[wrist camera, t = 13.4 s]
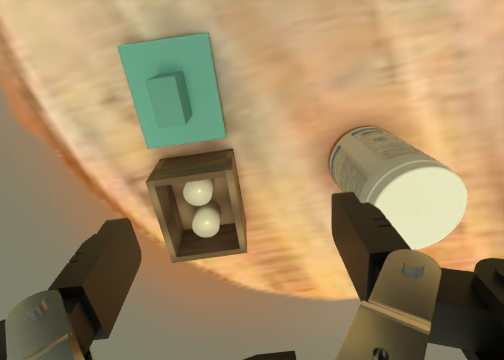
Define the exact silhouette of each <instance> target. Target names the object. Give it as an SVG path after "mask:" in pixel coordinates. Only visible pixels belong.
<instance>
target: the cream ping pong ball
mask: <svg viewBox="0 0 504 360" xmlns="http://www.w3.org/2000/svg"><path fill="white" fill-rule="evenodd" d="M213 186H214V179H207V180H200V181H193V182H186V184H185V187H184V190H183V195H184V198H185V199H186V201H187V202H188V203H190V204H192V205H195V206H202V205H205V204H207V203H208V202H209V201H210V199H211V197H212V192H213Z"/></svg>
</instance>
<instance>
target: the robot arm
mask: <svg viewBox="0 0 504 360" xmlns="http://www.w3.org/2000/svg"><path fill="white" fill-rule="evenodd" d="M332 235H333V239H334V242H335V245H336V247H337V249H338V251H339V253H340V256H341V258H342V260H343V262H344V265H345V267H346V269H347V271H348V274H349V276H350V278H351V280H352V282H353V285H354V287H355V289H356V291H357V294H358V296H359V298H360V300H361V304H360V306H359V308H358V310H357V313H356V315H355V317H354V320H353V322H352V324H351V326H350V328H349V330H348V333H347V335H346V338H345V339H344V342H343V344H342V346H341V348H340V351H339V353H338V355H337V357H336V360H424V357H425V353H426V348H427V343H433V344H438V345H444V346H449V347H454V348H459V349H461V350H462V352H463V353H464V355H465V356H466V358H467V359H468V360H504V259H497V258H488V259H483V260H481V261H479V262H478V263H477V264H476V266H475V269H474V272H470V271H461V270H453V269H446V268H441V267H440V266H439V264H438V263H437V262H436V261H435V260H434V259H433V258H431V257H430V256H428V255H426V254H424V253H422V252H419V251H415V250H412V249H411V248H410V247H409V245H408V244H407V243H406V242H405V240H404V239H403V238H402V237H401V235H400V234H399V233H398V232H397V230H396V229H395V228H394V226H392V224H391V223H390V221H389V220H388V219H386V216H385V215H384V214H383V213H382V211H381V210H380V209H379V208H377V207H376V206H374V205H372V204H370V203H369V202H367V203H361V202H360V201H359V199H358V198H357V196H356V195H355V194H354V192H352V191H351V192H343V193H334V194H332ZM140 263H141V249H140V246H139V244H138V241H137V238H136V235H135V232H134V230H133V227H132V224H131V222H130V220H129V219H128V218H121V219H112V220H107V221H106V222H105V223H104V224H103V226H102V227H101V228H100V230H99V231H98V233H97V234H94V235H93V236H91V237H90V238H89V239H88V240H86V241H85V242H84V243H82V245H81V246H80V248H79V249H78V250H77V252H76V253H75V255H73V257H72V258H71V259H70V261H69V263H68V264H67V265H66V266H65V267H64V269H63V270H62V271H61V273H60V274H59V275H58V277H57V278H56V279H55V281H54V282H53V283H52V285H51V286H50V287H49V289H48V290H46V291H42V292H38V293H36V294H33V295H32V296H29V297H28V298H26V299H25V300H23V301H21V302H20V303H19V304H18V305H16V306H15V307H14V308H13V309H12V310H11V312H10V313H9V314H8V316H7V318H6V319H5V320H2V321H0V360H95V359H94V356H93V353H92V351H91V349H90V346H91V344H92V342H93V340H98V339H107V338H109V335H110V333H111V331H112V329H113V326H114V324H115V322H116V319H117V317H118V315H119V312H120V310H121V307H122V305H123V303H124V301H125V299H126V296H127V294H128V292H129V289H130V287H131V285H132V282H133V280H134V278H135V275H136V273H137V271H138V268H139V266H140ZM244 360H296V355H295V351H287V352H278V353H268V354H259V355H255V356H252V357H249V358H247V359H244Z"/></svg>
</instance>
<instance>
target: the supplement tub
mask: <svg viewBox="0 0 504 360" xmlns="http://www.w3.org/2000/svg"><path fill="white" fill-rule="evenodd" d="M329 166H330V172H331V175H332V178H333V179H334V181H335V182H336V184H337V185H338V187H339V188H340V189H341V191H342V192H351V191H352V192H354V194H355V195H356V196H357V198H358V199H359V201H360V202H361V203H367V202H369V203H370V204H372V205H374V206H376V207H377V208H379V209H380V210H381V211H382V213H383V214H384V215H385V216H386V219H388V220H389V221H390V223H391V224H392V226H394V228H395V229H396V230H397V232H398V233H399V234H400V235H401V237H402V238H403V239H404V240H405V242H406V243H407V244H408V245H409V247H410V248H411V249H412V250H415V249H421V248H424V247H427V246H430V245H432V244H434V243H436V242H438V241H440V240H441V239H443V238H444V237H446V236H447V235H448V234H449V233H450V232H451V231H452V230H453V229H454V228H455V227H456V226H457V225H458V223H459V222H460V220H461V218H462V217H463V215H464V213H465V210H466V206H467V190H466V187H465V184H464V183H463V181H462V179H461V178H460V177H459V176H458V175H457V174H455V173H454V172H453V171H452V170H451V169H449V168H448V167H447V166H445V165H444V164H442V163H440V162H439V161H437V160H435V159H434V158H432V157H430V156H429V155H427V154H425V153H423V152H422V151H420V150H418V149H416V148H415V147H413V146H411V145H410V144H408V143H406V142H404V141H403V140H401V139H399V138H397V137H396V136H394V135H392V134H390V133H389V132H387V131H385V130H383V129H380V128H377V127H362V128H358V129H355V130H353V131H351V132H349V133H347V134H346V135H345V136H343V137H342V138H341V139H340V140H339V141H338V143H337V144H336V146H335V147H334V149H333V151H332V154H331V157H330V163H329Z"/></svg>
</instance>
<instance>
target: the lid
mask: <svg viewBox="0 0 504 360" xmlns="http://www.w3.org/2000/svg"><path fill="white" fill-rule="evenodd" d="M117 47H118V50H119V54H120V57H121V61H122V64H123V67H124V71H125V74H126V77H127V81H128V84H129V87H130V91H131V94H132V97H133V101H134V104H135V108H136V111H137V114H138V118H139V121H140V124H141V128H142V131H143V134H144V138H145V141H146V144H147V148H148V149H151V148H158V147H165V146H172V145H179V144H186V143H193V142H201V141H208V140H215V139H222V138H226V131H225V126H224V120H223V114H222V108H221V103H220V97H219V91H218V85H217V80H216V74H215V68H214V63H213V57H212V51H211V45H210V40H209V34H208V33H202V34H195V35H188V36H181V37H174V38H168V39H161V40H154V41H147V42H140V43H134V44H127V45H120V46H117Z"/></svg>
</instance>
